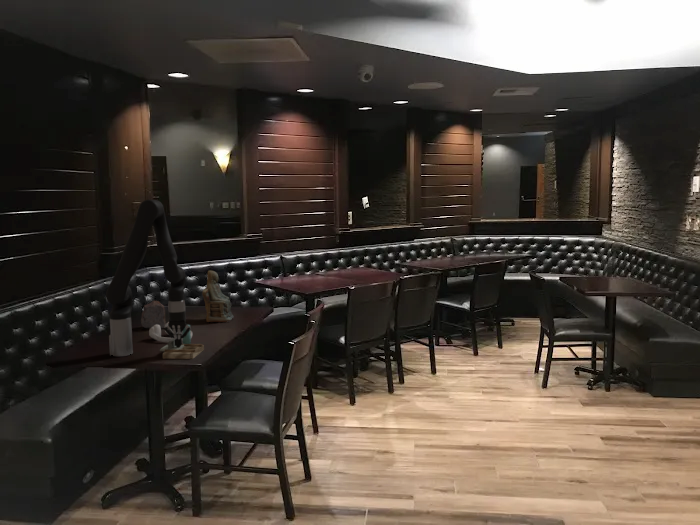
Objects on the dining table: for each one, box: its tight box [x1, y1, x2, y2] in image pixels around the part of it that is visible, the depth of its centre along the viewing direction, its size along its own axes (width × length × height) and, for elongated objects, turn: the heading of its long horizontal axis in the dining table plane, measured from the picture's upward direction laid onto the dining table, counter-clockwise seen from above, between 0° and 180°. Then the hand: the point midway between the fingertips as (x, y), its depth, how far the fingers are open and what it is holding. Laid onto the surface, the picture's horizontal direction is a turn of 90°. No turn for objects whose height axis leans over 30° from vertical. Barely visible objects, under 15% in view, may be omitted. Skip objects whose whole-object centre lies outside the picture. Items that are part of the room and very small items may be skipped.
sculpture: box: [202, 270, 235, 323], centre depth 347 cm, size 24×16×30 cm, turn 179°
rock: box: [140, 300, 167, 329], centre depth 329 cm, size 14×12×15 cm
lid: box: [159, 339, 184, 352], centre depth 273 cm, size 8×8×4 cm
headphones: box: [148, 321, 193, 343], centre depth 303 cm, size 20×8×20 cm
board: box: [162, 343, 205, 360], centre depth 272 cm, size 14×16×3 cm
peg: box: [182, 324, 192, 344], centre depth 284 cm, size 4×4×11 cm
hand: (178, 346), depth 272 cm, fingers closed
